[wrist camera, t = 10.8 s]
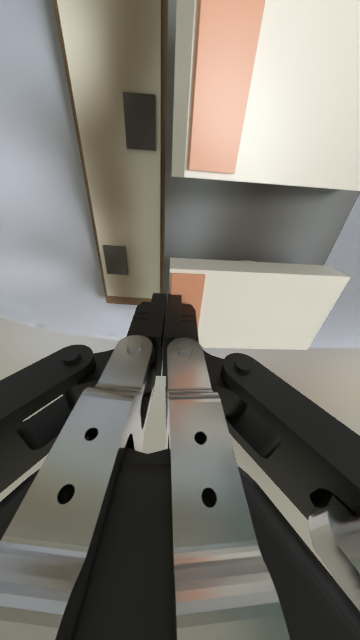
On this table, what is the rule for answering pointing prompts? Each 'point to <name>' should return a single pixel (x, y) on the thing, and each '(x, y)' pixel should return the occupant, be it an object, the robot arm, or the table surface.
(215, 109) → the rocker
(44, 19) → the table surface
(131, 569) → the robot arm
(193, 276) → the cream box
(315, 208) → the switch box
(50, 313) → the table surface
